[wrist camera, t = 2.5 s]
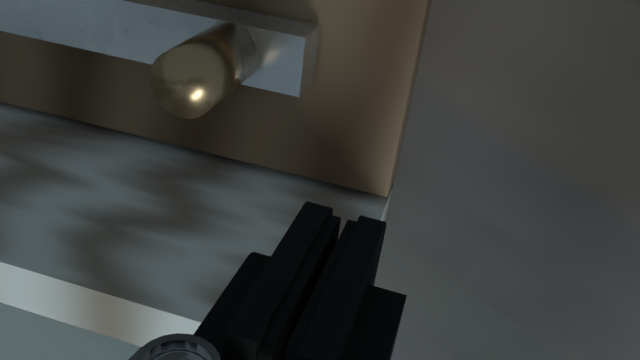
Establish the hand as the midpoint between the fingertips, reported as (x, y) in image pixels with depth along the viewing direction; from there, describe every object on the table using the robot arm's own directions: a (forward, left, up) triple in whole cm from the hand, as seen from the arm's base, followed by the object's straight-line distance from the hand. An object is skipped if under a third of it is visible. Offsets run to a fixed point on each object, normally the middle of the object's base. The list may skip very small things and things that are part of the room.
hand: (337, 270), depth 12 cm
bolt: (-11, 0, -14) cm, 18 cm away
